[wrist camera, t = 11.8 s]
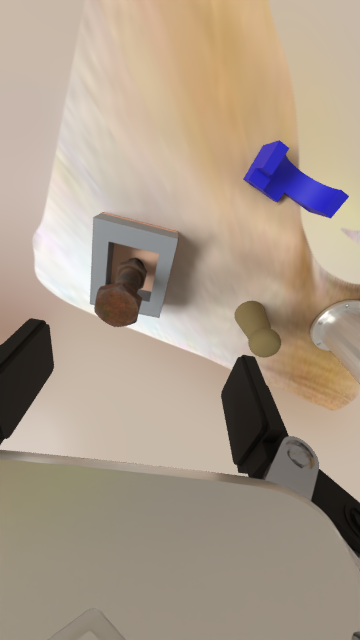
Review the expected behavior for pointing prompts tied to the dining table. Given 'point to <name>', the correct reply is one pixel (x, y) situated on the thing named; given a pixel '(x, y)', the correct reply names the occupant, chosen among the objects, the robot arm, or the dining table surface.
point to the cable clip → (291, 182)
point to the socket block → (132, 256)
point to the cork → (257, 329)
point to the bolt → (122, 295)
